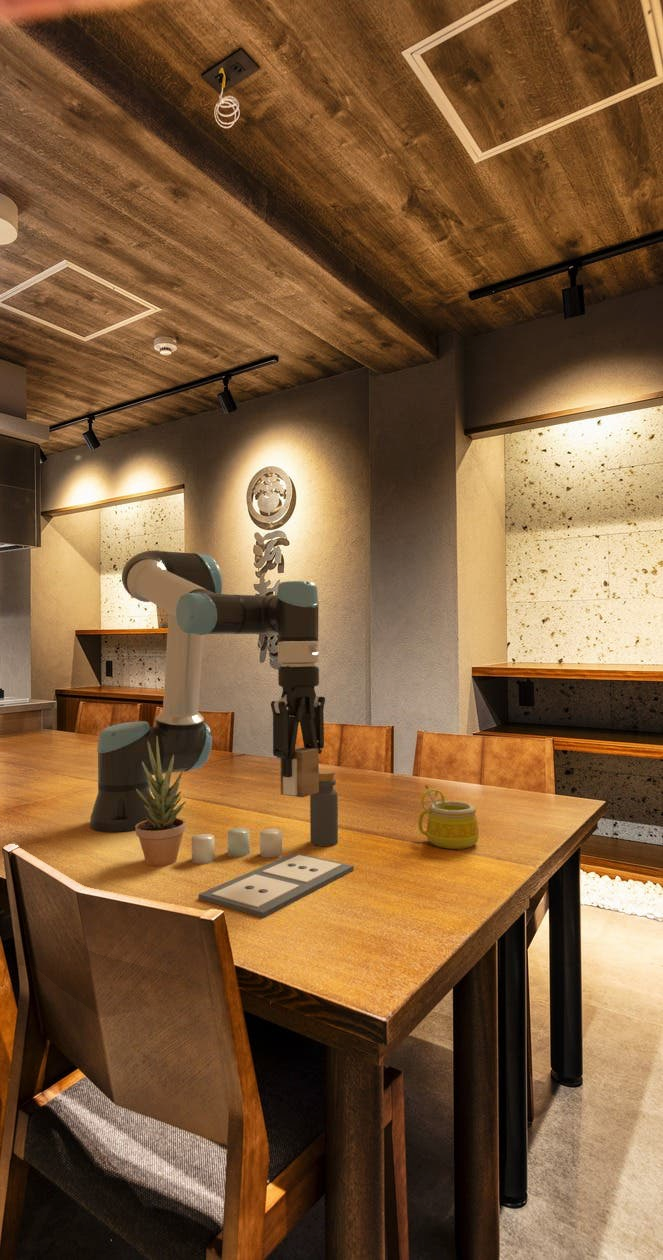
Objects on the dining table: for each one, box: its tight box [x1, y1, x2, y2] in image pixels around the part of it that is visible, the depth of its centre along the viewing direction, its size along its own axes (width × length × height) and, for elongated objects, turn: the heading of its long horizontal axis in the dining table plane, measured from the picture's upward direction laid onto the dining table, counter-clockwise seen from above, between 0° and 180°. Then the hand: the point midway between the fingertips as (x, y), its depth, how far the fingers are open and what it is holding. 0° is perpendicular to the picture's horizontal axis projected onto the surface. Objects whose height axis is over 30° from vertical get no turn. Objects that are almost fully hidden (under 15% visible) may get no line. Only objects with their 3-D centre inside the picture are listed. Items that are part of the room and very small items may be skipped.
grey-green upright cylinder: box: [227, 827, 251, 858], centre depth 137 cm, size 4×4×4 cm
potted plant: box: [135, 737, 187, 867], centre depth 132 cm, size 10×10×25 cm
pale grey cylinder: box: [191, 833, 215, 865], centre depth 133 cm, size 4×4×4 cm
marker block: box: [279, 746, 320, 798], centre depth 125 cm, size 5×5×8 cm
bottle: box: [309, 769, 339, 847], centre depth 144 cm, size 6×6×15 cm
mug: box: [417, 784, 480, 850], centre depth 143 cm, size 13×11×12 cm
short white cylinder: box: [259, 828, 283, 859], centre depth 136 cm, size 4×4×4 cm
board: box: [198, 852, 354, 918], centre depth 119 cm, size 14×26×1 cm, turn 146°
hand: (299, 791), depth 125 cm, fingers closed on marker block, 5 cm apart
